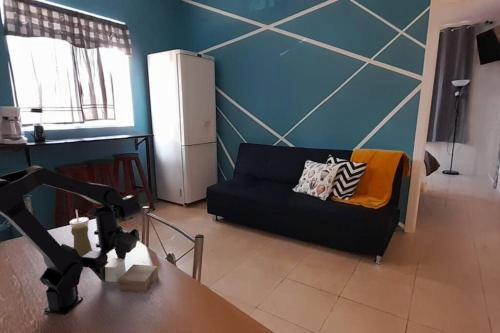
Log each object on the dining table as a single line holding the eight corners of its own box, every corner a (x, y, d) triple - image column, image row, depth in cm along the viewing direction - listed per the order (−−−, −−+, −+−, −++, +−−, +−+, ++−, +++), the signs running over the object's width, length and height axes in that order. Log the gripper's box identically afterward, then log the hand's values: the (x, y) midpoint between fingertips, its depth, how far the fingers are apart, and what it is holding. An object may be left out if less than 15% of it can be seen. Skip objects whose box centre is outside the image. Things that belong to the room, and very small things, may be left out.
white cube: (116, 282, 86) (114, 267, 85) (101, 280, 87) (99, 266, 86) (125, 273, 91) (124, 258, 90) (111, 271, 92) (110, 257, 91)
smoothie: (68, 246, 109) (63, 211, 106) (82, 238, 115) (78, 205, 112) (82, 248, 107) (76, 213, 104) (95, 240, 113) (91, 207, 110)
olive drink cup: (77, 259, 99) (73, 230, 97) (70, 254, 102) (66, 226, 100) (95, 252, 104) (91, 224, 101) (88, 248, 107) (84, 220, 105)
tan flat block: (146, 294, 81) (144, 281, 80) (119, 292, 82) (118, 279, 81) (158, 277, 89) (157, 266, 88) (134, 275, 90) (133, 264, 89)
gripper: (112, 242, 75) (118, 294, 78) (148, 215, 93) (152, 258, 96) (74, 239, 77) (82, 289, 80) (117, 213, 95) (122, 256, 98)
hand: (113, 272), depth 89 cm, fingers open, 9 cm apart
